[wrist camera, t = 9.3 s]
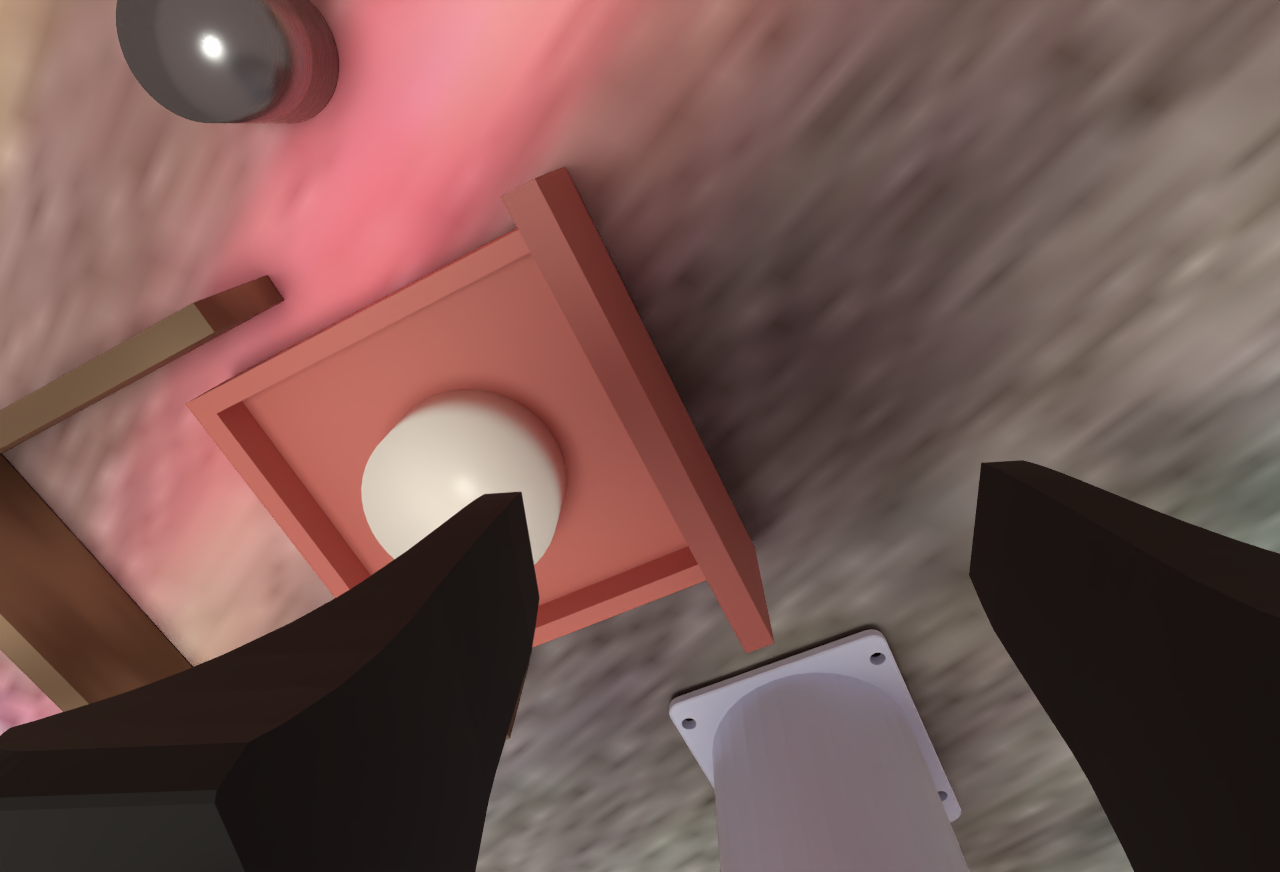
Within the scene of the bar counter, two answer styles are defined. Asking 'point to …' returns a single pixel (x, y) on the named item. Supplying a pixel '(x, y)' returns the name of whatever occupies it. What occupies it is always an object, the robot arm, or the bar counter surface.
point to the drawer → (527, 373)
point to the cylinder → (230, 57)
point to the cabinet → (54, 558)
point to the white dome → (462, 468)
